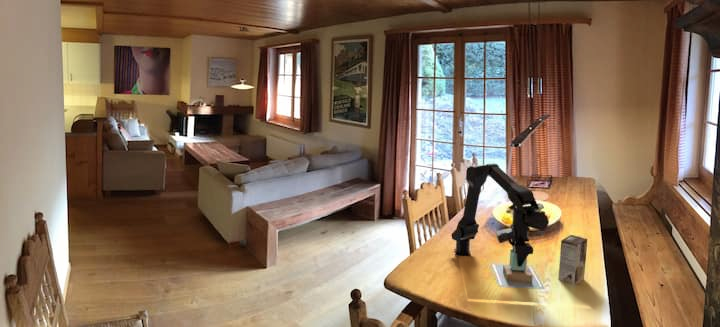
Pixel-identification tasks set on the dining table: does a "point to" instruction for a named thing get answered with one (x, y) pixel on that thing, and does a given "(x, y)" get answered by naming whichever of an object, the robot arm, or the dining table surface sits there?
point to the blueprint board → (503, 283)
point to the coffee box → (572, 259)
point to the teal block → (514, 262)
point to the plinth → (517, 275)
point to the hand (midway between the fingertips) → (517, 263)
